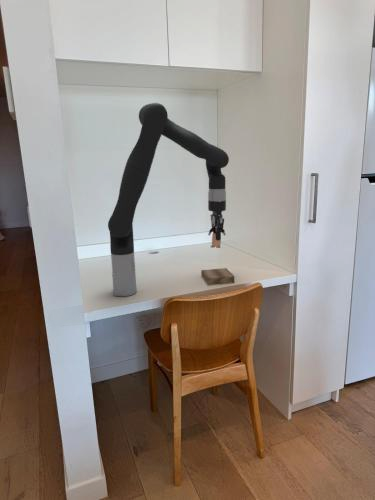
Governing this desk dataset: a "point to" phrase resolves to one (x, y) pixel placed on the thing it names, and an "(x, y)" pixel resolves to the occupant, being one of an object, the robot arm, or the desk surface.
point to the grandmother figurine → (215, 242)
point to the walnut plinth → (217, 276)
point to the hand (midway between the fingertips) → (217, 238)
